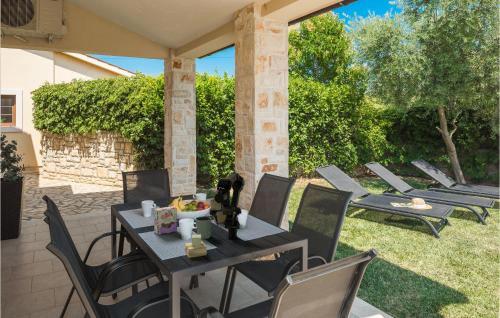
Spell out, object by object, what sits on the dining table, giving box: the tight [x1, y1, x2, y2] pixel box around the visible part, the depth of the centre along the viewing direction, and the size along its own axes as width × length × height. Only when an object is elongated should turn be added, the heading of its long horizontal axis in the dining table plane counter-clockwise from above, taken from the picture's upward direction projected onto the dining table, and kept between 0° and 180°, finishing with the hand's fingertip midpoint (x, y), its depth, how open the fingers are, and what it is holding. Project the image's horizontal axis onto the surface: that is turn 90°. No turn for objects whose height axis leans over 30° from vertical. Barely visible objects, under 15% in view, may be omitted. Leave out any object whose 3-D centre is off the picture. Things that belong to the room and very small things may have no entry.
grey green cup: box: [195, 215, 212, 240], centre depth 219 cm, size 10×10×12 cm
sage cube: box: [191, 234, 202, 247], centre depth 191 cm, size 5×5×5 cm
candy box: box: [153, 205, 178, 236], centre depth 227 cm, size 14×6×16 cm, turn 126°
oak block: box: [184, 240, 208, 258], centre depth 192 cm, size 10×10×5 cm
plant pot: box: [209, 198, 226, 224], centre depth 252 cm, size 15×15×16 cm
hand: (225, 225), depth 204 cm, fingers open, 9 cm apart
